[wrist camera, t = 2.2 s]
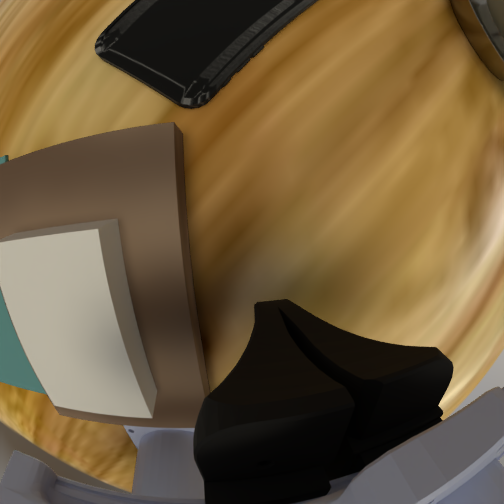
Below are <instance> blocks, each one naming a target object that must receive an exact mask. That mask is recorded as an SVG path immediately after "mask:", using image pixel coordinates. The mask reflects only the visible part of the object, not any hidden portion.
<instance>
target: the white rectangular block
mask: <svg viewBox="0 0 504 504" xmlns="http://www.w3.org/2000/svg"><path fill="white" fill-rule="evenodd" d="M0 287H1V290H2V293H3V296H4V300H5V303H6V306H7V309H8V311H9V314H10V317H11V320H12V322H13V325H14V327H15V330H16V332H17V335H18V337H19V339H20V342H21V344H22V346H23V349H24V351H25V353H26V355H27V357H28V359H29V361H30V363H31V365H32V367H33V369H34V371H35V373H36V375H37V377H38V379H39V380H40V382H41V384H42V386H43V388H44V389H45V391H46V393H47V394H48V396H49V398H50V399H51V401H52V403H53V404H54V406H58V407H63V408H68V409H73V410H79V411H85V412H91V413H98V414H106V415H115V416H125V417H137V418H153V412H154V406H155V401H156V395H157V389H156V386H155V383H154V380H153V377H152V374H151V371H150V368H149V364H148V361H147V358H146V355H145V351H144V348H143V344H142V341H141V337H140V333H139V330H138V326H137V322H136V318H135V314H134V309H133V305H132V301H131V296H130V291H129V287H128V282H127V276H126V271H125V265H124V260H123V254H122V247H121V240H120V233H119V225H118V219H110V220H101V221H93V222H85V223H78V224H71V225H63V226H56V227H50V228H43V229H37V230H31V231H25V232H19V233H14V234H12V235H10V236H7V237H5V238H3V239H0Z"/></svg>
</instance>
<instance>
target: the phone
mask: <svg viewBox="0 0 504 504" xmlns="http://www.w3.org/2000/svg"><path fill="white" fill-rule="evenodd" d="M317 1H318V0H135V1H134V2H133V3H132V4H131V5H129V6H128V7H127V8H126V9H125V10H124V11H123V12H122V13H121V14H120V15H119V16H118V17H117V18H116V19H115V20H114V21H113V22H112V23H111V24H110V25H109V26H108V27H107V28H106V29H105V30H104V31H103V32H102V33H101V34H100V36H99V37H98V39H97V41H96V43H95V51H96V54H97V55H98V56H99V57H100V58H102V59H103V60H104V61H105V62H107V63H109V64H111V65H113V66H114V67H116V68H118V69H120V70H121V71H123V72H125V73H127V74H128V75H130V76H132V77H134V78H135V79H137V80H139V81H140V82H142V83H144V84H145V85H147V86H149V87H150V88H152V89H153V90H155V91H157V92H158V93H160V94H161V95H163V96H165V97H166V98H168V99H169V100H171V101H172V102H174V103H175V104H177V105H179V106H181V107H183V108H190V109H193V108H199V107H201V106H203V105H205V104H207V103H208V102H209V101H210V100H211V99H212V98H213V97H214V96H215V95H216V94H217V92H218V91H219V90H220V89H221V88H222V87H224V86H225V85H226V84H227V83H228V82H229V81H230V80H231V77H232V76H233V75H234V74H235V73H236V72H239V71H240V70H241V69H242V68H243V67H244V66H245V65H246V64H247V63H248V62H249V61H250V58H251V57H252V56H253V57H254V56H255V55H256V54H257V53H258V52H259V51H260V50H261V49H263V48H264V45H265V44H266V43H267V42H268V41H269V40H270V39H271V38H272V37H273V36H275V35H276V34H277V33H278V32H279V31H280V30H281V29H283V28H284V27H285V26H286V25H287V24H289V23H290V22H291V21H292V20H293V19H295V18H296V17H297V16H298V15H300V14H301V13H302V12H303V11H305V10H306V9H307V8H309V7H310V6H311V5H312V4H314V3H315V2H317Z"/></svg>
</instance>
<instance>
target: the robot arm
mask: <svg viewBox="0 0 504 504" xmlns="http://www.w3.org/2000/svg"><path fill="white" fill-rule="evenodd" d="M254 313H255V323H254V328H253V331H252V334H251V337H250V340H249V342H248V345H247V347H246V349H245V351H244V353H243V355H242V356H241V358H240V360H239V361H238V363H237V364H236V366H235V367H234V369H233V370H232V371H231V372H230V373H229V375H228V376H227V377H226V378H225V379H224V381H223V382H222V383H221V384H220V385H219V386H218V387H217V388H215V389H214V390H213V391H212V392H211V393H210V394H209V395H208V396H207V397H205V398H204V401H203V403H202V406H201V409H200V411H199V414H198V417H197V421H196V425H195V428H154V427H138V426H126V425H123V426H124V428H125V430H126V431H127V433H128V435H129V436H130V438H131V439H132V441H133V443H134V444H135V446H136V447H137V449H138V453H137V459H136V466H135V472H134V480H133V487H132V494H130V493H123V492H118V491H113V490H108V489H103V488H99V487H95V486H91V485H87V484H83V483H80V482H76V481H73V480H70V479H67V478H64V477H61V476H58V475H56V473H55V472H54V471H53V470H52V469H51V468H50V467H49V466H48V465H46V464H45V463H44V462H42V461H40V460H38V459H36V458H34V457H31V456H29V455H26V454H24V453H22V452H20V451H17V450H14V451H13V453H12V456H11V458H10V460H9V463H8V465H7V467H6V470H5V472H4V475H3V477H2V480H1V483H0V504H504V467H503V466H502V465H501V463H500V462H499V461H498V460H499V459H500V458H501V457H502V456H503V455H504V387H503V388H502V389H501V388H500V387H495V388H493V389H491V390H489V391H487V392H485V393H484V394H482V395H481V396H480V397H478V398H477V399H475V400H474V401H473V402H471V403H470V404H468V405H467V406H465V407H464V408H462V409H461V410H459V411H458V412H456V413H455V414H453V415H451V416H450V417H448V418H446V419H445V420H442V419H441V418H440V417H441V416H442V415H443V411H442V409H441V408H440V407H439V406H438V405H439V403H440V401H441V399H442V397H443V395H444V394H445V392H446V390H447V388H448V386H449V384H450V381H451V379H452V375H453V364H452V362H451V361H450V360H449V359H448V358H447V357H446V356H445V355H444V354H443V353H442V352H441V351H440V350H439V349H437V348H436V347H417V346H404V345H397V344H390V343H385V342H380V341H376V340H372V339H368V338H364V337H361V336H358V335H355V334H352V333H350V332H347V331H344V330H342V329H340V328H337V327H335V326H333V325H331V324H329V323H327V322H325V321H323V320H321V319H319V318H318V317H316V316H314V315H312V314H311V313H309V312H307V311H306V310H304V309H303V308H301V307H299V306H298V305H296V304H294V303H293V302H291V301H289V300H287V299H283V300H274V301H264V302H257V303H256V304H255V305H254Z"/></svg>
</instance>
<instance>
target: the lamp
mask: <svg viewBox="0 0 504 504" xmlns="http://www.w3.org/2000/svg"><path fill="white" fill-rule="evenodd" d="M451 5H452V8H453V11H454V13H455V16H456V18H457V20H458V22H459V24H460V26H461V28H462V30H463V31H464V33H465V35H466V37H467V38H468V40H469V42H470V43H471V45H472V47H473V48H474V50H475V51H476V53H477V54H478V56H479V57H480V58H481V60H482V61H483V63H484V64H485V65H486V66H487V68H488V69H489V70H490V71H491V72H492V73H493V74H494V75H495V76H496V77H497V78H498V79H500V80H502V81H504V0H451Z"/></svg>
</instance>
